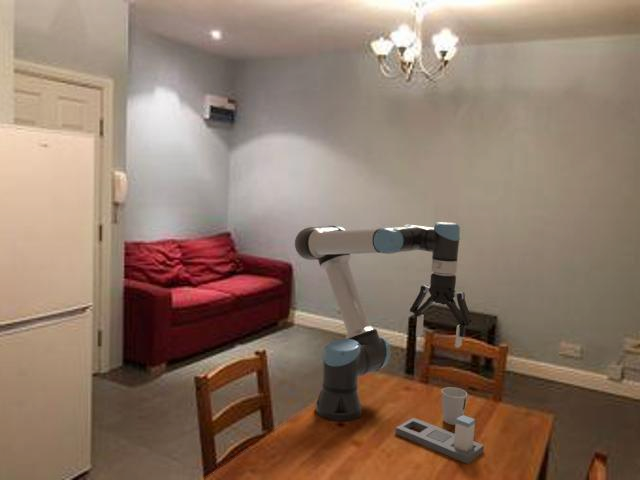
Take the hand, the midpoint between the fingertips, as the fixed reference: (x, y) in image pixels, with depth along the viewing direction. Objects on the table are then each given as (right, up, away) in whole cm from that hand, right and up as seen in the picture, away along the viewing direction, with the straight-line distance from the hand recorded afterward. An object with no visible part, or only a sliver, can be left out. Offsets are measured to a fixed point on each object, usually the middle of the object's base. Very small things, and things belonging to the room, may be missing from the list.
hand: (438, 341), depth 169 cm
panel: (-1, -30, -5) cm, 30 cm away
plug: (+5, -31, -10) cm, 32 cm away
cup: (+7, -28, +10) cm, 31 cm away
